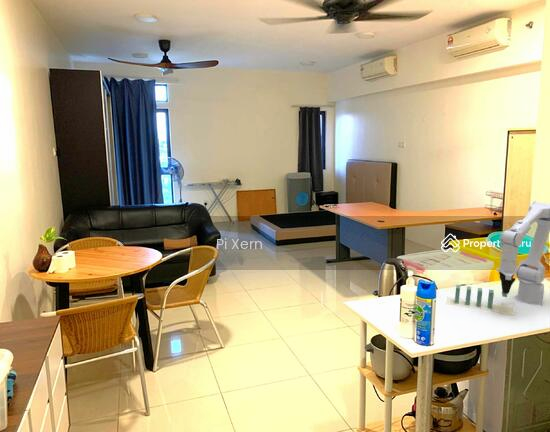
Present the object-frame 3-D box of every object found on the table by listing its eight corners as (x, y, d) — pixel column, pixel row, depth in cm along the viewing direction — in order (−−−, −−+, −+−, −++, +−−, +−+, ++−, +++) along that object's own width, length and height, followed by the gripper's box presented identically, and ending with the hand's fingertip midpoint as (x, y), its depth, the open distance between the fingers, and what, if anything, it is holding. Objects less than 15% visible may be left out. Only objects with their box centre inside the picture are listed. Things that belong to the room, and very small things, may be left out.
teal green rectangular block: (506, 293, 175) (508, 278, 174) (506, 297, 171) (508, 281, 170) (501, 293, 176) (503, 277, 174) (502, 296, 172) (504, 280, 171)
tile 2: (491, 305, 178) (493, 290, 177) (492, 308, 175) (493, 293, 173) (487, 304, 179) (489, 289, 178) (487, 308, 175) (489, 292, 174)
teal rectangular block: (480, 303, 180) (482, 288, 179) (480, 307, 176) (482, 291, 175) (476, 303, 181) (478, 287, 179) (476, 306, 177) (478, 290, 176)
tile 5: (458, 300, 184) (460, 285, 182) (458, 303, 180) (460, 288, 179) (455, 299, 184) (456, 284, 183) (454, 303, 181) (456, 287, 179)
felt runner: (513, 307, 177) (513, 306, 177) (514, 315, 169) (514, 314, 169) (447, 297, 188) (447, 296, 188) (446, 304, 180) (446, 303, 180)
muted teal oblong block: (469, 302, 182) (471, 286, 180) (469, 305, 178) (471, 289, 177) (465, 301, 183) (467, 286, 181) (465, 304, 179) (466, 289, 178)
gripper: (496, 254, 179) (493, 284, 181) (498, 263, 166) (495, 295, 168) (515, 256, 176) (512, 286, 178) (518, 265, 163) (515, 298, 165)
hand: (505, 291), depth 173 cm, fingers closed on teal green rectangular block, 4 cm apart
